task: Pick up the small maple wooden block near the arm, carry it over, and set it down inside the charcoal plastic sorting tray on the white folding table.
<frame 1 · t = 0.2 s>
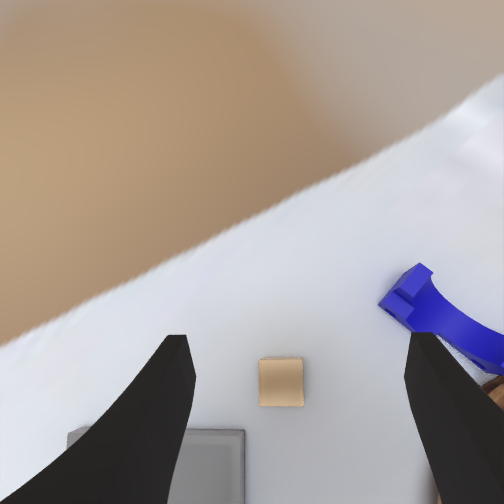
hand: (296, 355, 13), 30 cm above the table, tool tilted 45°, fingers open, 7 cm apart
cable clip: (438, 326, 42), on the table
sorting tray: (159, 499, 41), on the table
maple block: (283, 377, 42), on the table
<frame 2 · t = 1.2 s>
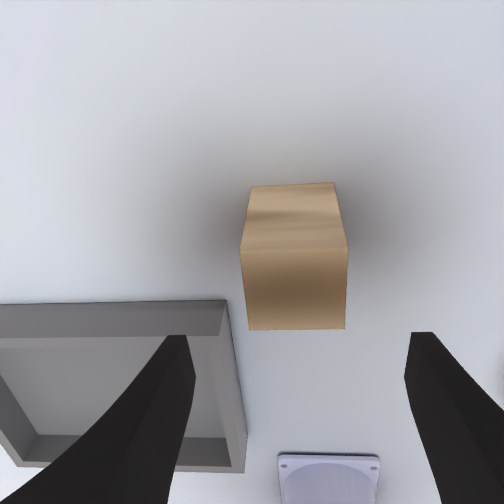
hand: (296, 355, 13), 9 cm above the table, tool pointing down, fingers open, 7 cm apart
sorting tray: (116, 376, 29), on the table
maple block: (293, 220, 21), on the table
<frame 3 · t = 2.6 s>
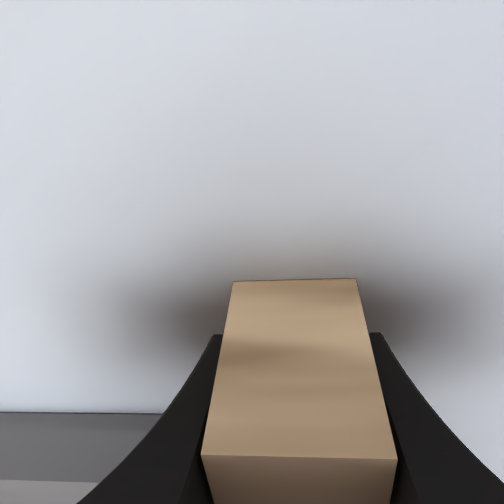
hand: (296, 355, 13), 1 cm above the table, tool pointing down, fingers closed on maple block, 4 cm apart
sorting tray: (65, 489, 22), on the table
maple block: (295, 325, 14), on the table, touching gripper
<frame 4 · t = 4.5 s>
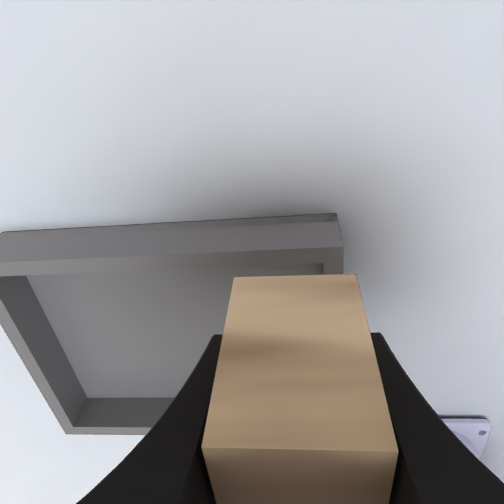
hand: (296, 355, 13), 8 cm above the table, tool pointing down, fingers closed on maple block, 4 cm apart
sorting tray: (186, 322, 24), on the table
maple block: (295, 320, 14), point 7 cm above the table, touching gripper
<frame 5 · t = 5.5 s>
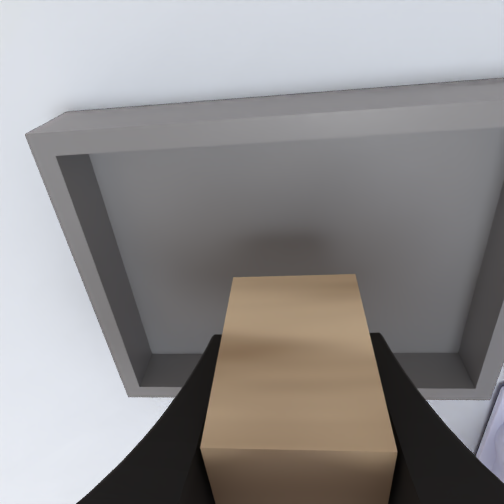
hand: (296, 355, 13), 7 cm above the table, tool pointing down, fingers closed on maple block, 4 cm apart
sorting tray: (294, 248, 19), on the table
maple block: (295, 321, 14), point 5 cm above the table, touching gripper
when the fingers open (4 cm above the table, at t = 6.4 s): maple block drops 1 cm, resting on sorting tray.
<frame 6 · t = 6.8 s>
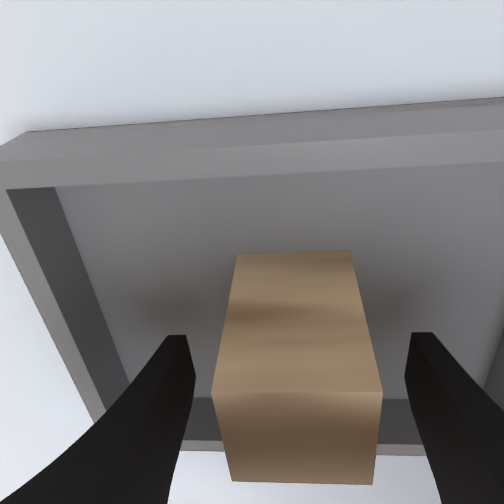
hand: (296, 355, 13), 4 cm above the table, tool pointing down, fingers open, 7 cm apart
sorting tray: (294, 285, 16), on the table
maple block: (295, 295, 15), point 1 cm above the table, touching sorting tray
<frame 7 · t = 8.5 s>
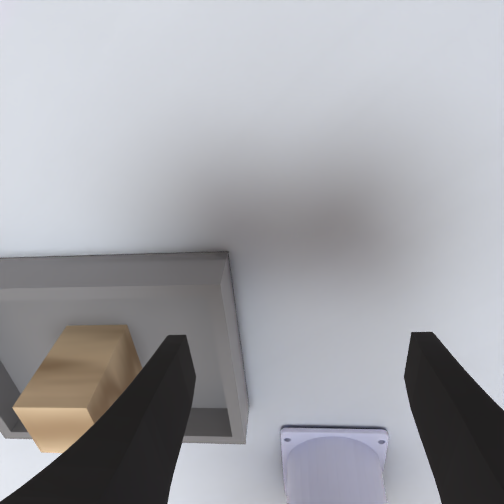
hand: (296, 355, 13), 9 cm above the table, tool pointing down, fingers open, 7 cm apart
sorting tray: (110, 340, 27), on the table
maple block: (105, 347, 26), point 1 cm above the table, touching sorting tray
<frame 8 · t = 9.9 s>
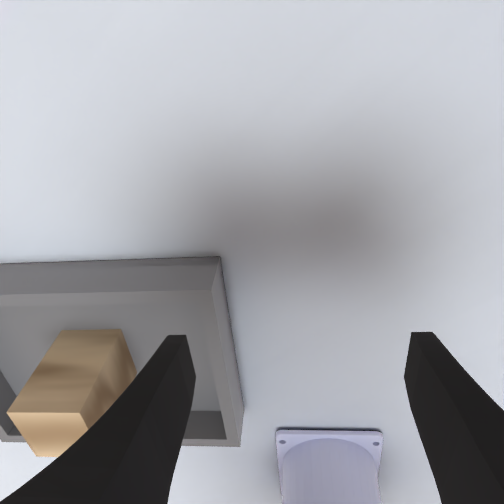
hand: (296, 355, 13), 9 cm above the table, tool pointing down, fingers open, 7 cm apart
sorting tray: (105, 344, 27), on the table
maple block: (100, 351, 27), point 1 cm above the table, touching sorting tray
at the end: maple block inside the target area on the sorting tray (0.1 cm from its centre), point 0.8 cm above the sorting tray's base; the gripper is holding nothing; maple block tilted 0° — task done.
